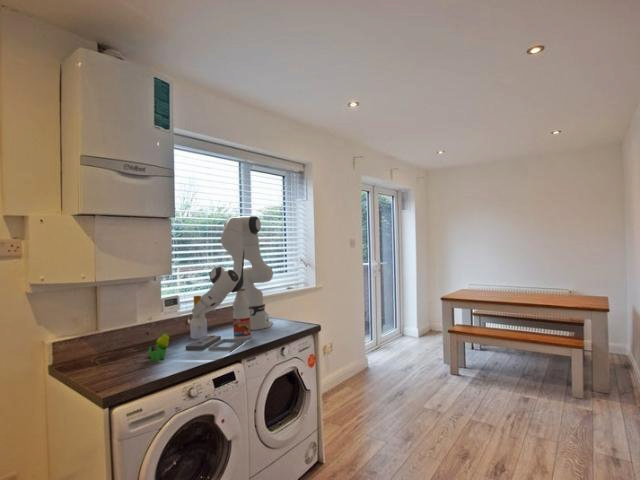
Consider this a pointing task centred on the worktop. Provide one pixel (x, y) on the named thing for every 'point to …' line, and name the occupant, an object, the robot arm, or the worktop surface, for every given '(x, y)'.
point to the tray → (213, 347)
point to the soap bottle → (194, 330)
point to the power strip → (203, 342)
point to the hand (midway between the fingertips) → (197, 316)
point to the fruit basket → (159, 348)
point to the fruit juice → (241, 316)
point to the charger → (199, 321)
